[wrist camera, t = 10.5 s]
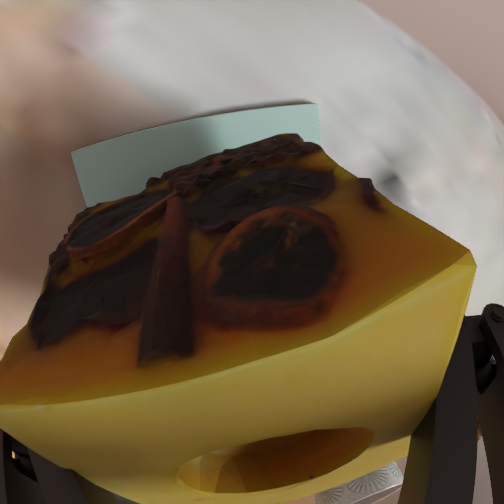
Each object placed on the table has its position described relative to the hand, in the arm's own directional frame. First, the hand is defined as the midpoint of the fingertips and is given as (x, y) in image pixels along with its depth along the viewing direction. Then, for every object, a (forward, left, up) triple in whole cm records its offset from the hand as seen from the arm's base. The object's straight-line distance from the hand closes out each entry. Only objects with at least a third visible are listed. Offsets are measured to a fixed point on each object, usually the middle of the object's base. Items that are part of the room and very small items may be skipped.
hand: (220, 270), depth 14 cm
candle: (0, 0, -1) cm, 1 cm away
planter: (+11, -37, -4) cm, 39 cm away
